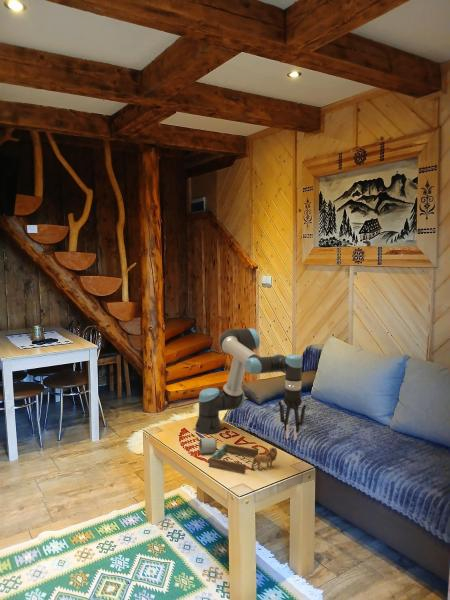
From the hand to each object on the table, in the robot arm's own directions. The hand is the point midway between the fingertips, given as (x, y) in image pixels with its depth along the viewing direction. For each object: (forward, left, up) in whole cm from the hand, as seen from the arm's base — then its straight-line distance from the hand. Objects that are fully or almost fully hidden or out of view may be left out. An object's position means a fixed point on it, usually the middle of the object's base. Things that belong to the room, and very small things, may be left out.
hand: (291, 438), depth 218 cm
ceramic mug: (-5, -46, -17) cm, 49 cm away
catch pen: (0, -28, -17) cm, 33 cm away
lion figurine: (0, -13, -17) cm, 21 cm away
